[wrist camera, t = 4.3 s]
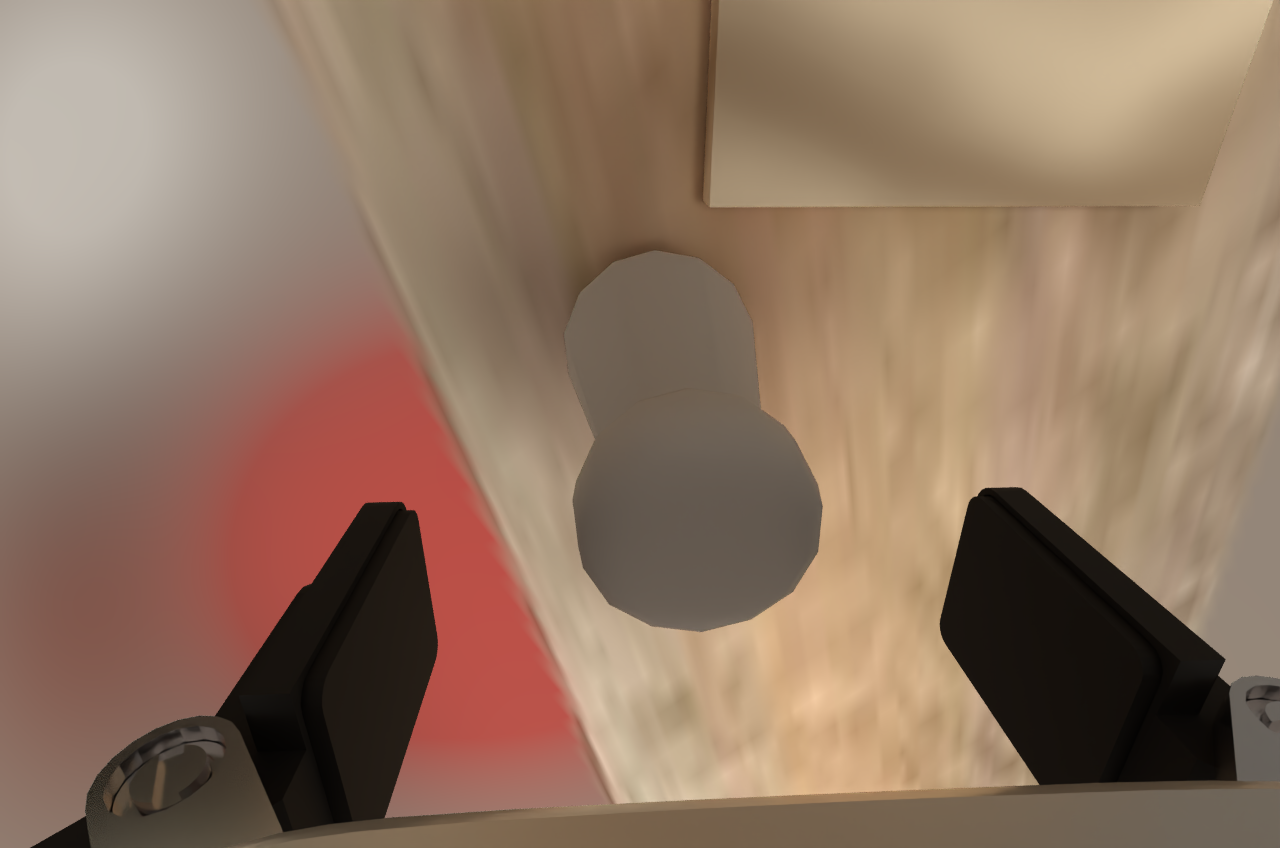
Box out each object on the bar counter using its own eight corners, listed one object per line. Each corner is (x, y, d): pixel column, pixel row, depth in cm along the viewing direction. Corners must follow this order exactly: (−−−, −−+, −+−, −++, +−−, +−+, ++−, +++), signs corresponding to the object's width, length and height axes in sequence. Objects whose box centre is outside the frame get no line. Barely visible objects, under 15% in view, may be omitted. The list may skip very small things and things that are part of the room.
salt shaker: (764, 356, 23) (932, 611, 11) (622, 429, 24) (636, 734, 12) (690, 203, 20) (802, 317, 9) (536, 290, 21) (448, 501, 10)
